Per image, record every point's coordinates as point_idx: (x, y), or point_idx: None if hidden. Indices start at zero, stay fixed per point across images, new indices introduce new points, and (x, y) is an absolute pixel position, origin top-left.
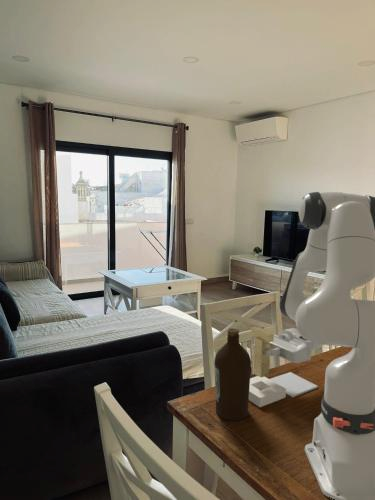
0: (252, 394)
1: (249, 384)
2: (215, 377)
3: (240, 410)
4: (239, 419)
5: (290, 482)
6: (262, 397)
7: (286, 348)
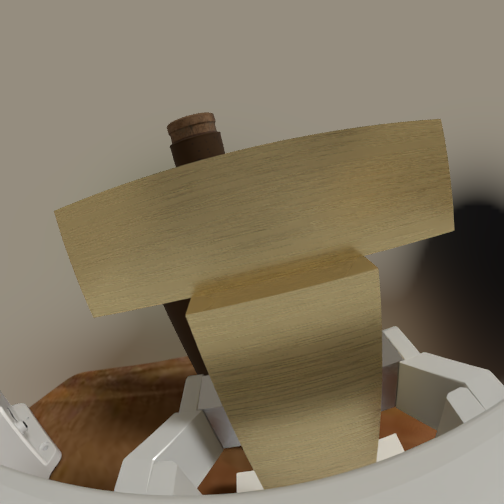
0: None
1: (195, 364)
2: None
3: None
4: None
5: (64, 394)
6: (237, 485)
7: (20, 481)
